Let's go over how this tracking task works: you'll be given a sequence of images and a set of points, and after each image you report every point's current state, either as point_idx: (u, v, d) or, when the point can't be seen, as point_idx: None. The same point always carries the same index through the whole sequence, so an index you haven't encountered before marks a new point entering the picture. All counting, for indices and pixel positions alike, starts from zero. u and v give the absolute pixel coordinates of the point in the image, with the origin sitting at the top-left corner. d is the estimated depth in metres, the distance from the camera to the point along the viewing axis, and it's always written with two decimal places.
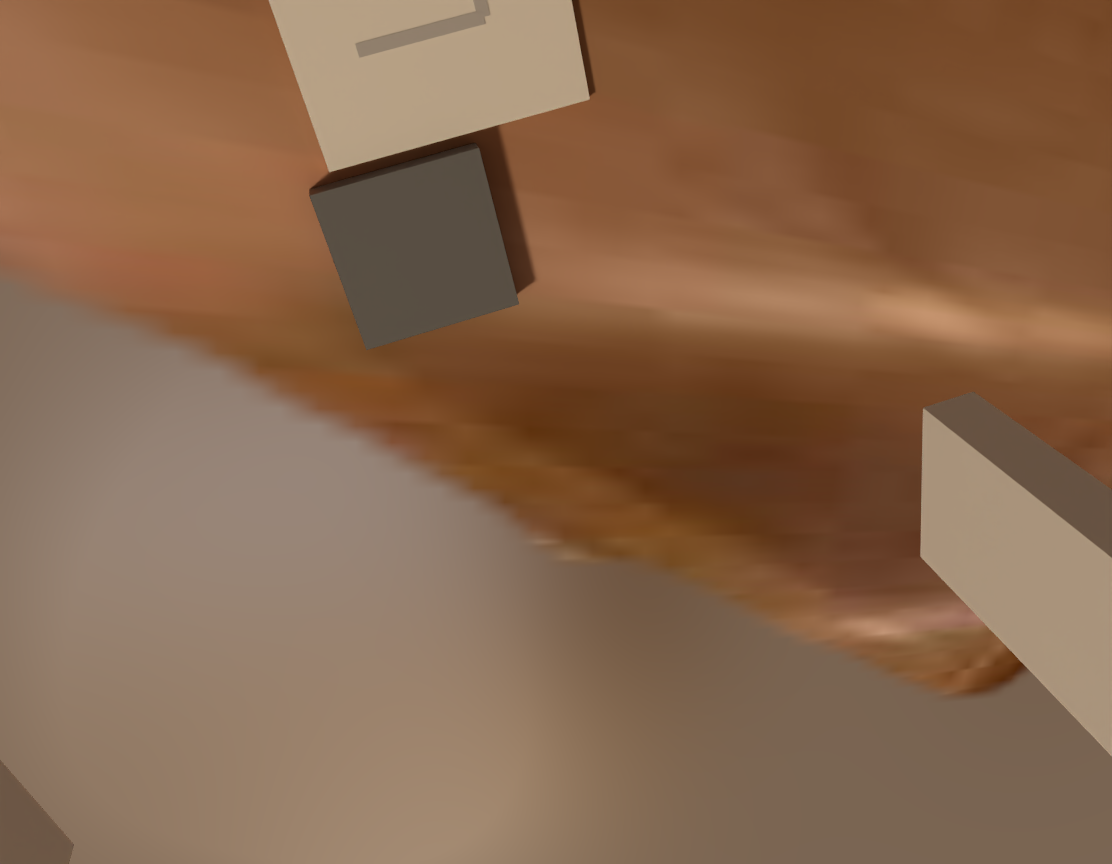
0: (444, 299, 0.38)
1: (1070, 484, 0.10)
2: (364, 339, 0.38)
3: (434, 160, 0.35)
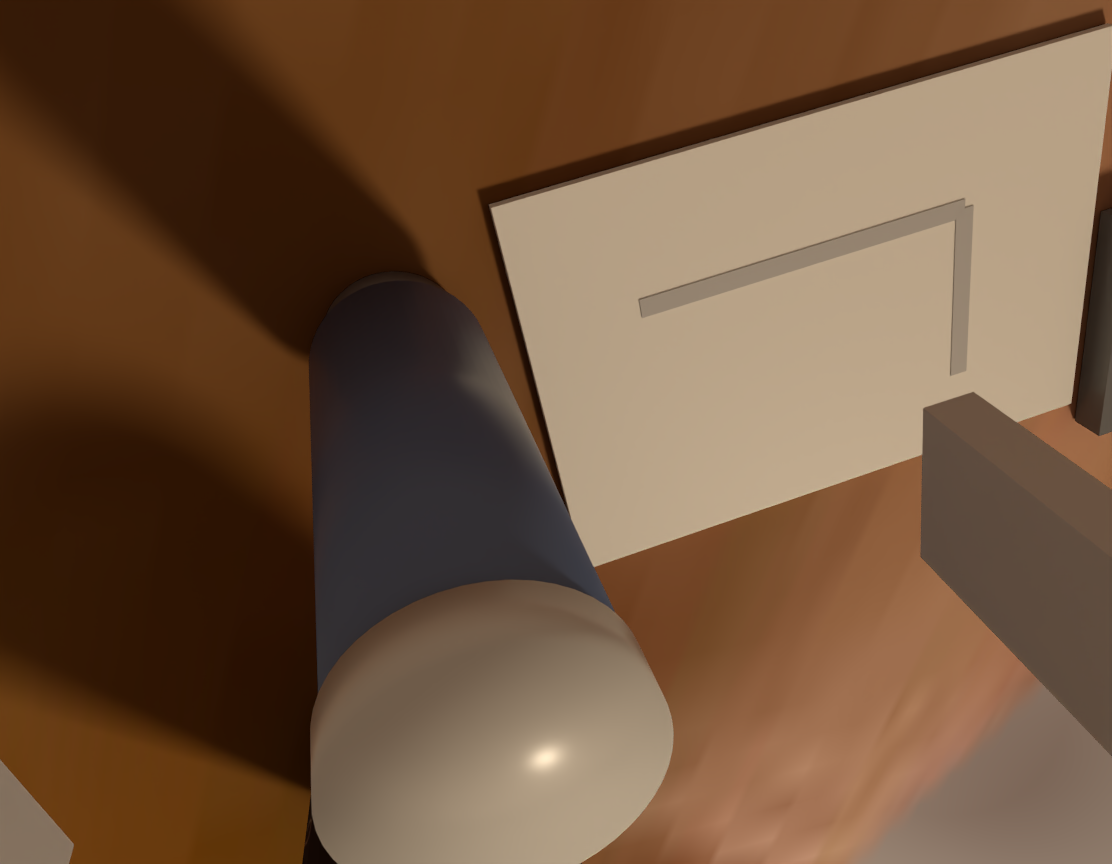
0: None
1: (1069, 484, 0.10)
2: None
3: None
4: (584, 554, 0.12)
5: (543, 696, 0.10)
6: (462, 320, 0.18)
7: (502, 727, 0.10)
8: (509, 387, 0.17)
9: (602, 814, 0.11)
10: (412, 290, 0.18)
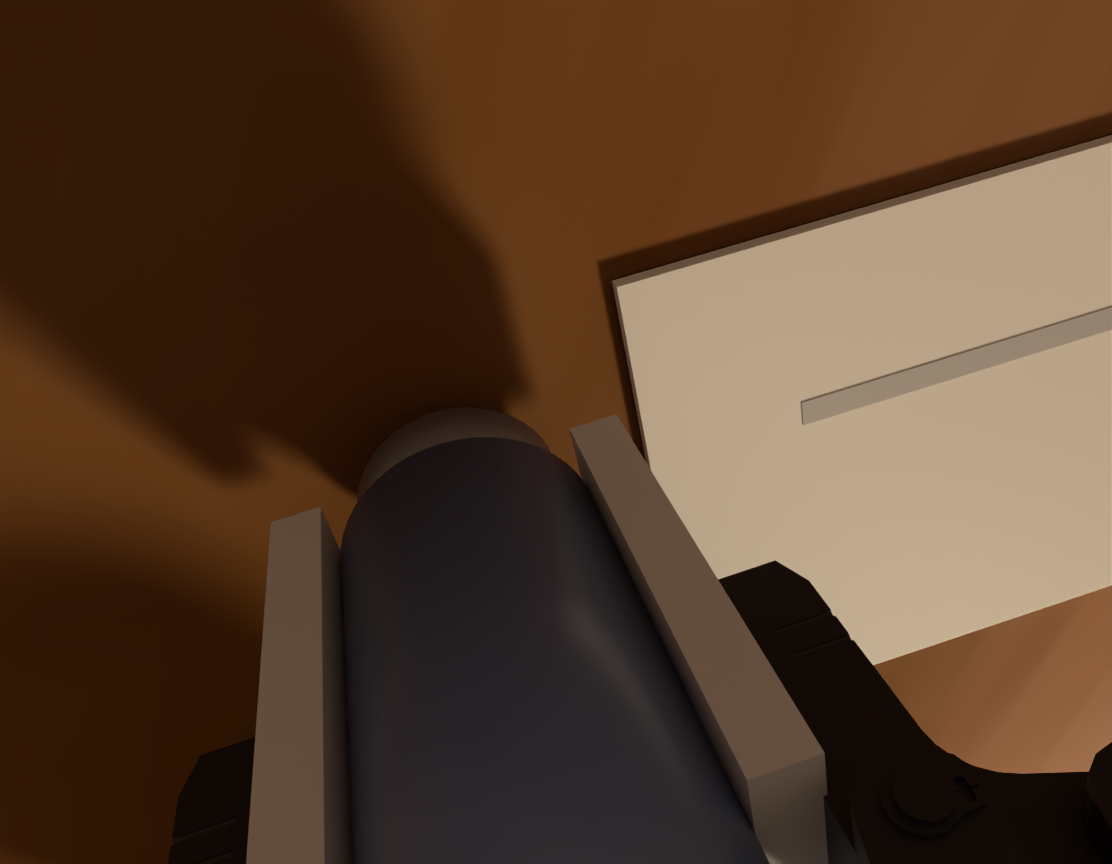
0: None
1: (642, 499, 0.12)
2: None
3: None
4: None
5: None
6: (577, 511, 0.12)
7: None
8: None
9: None
10: (499, 459, 0.12)
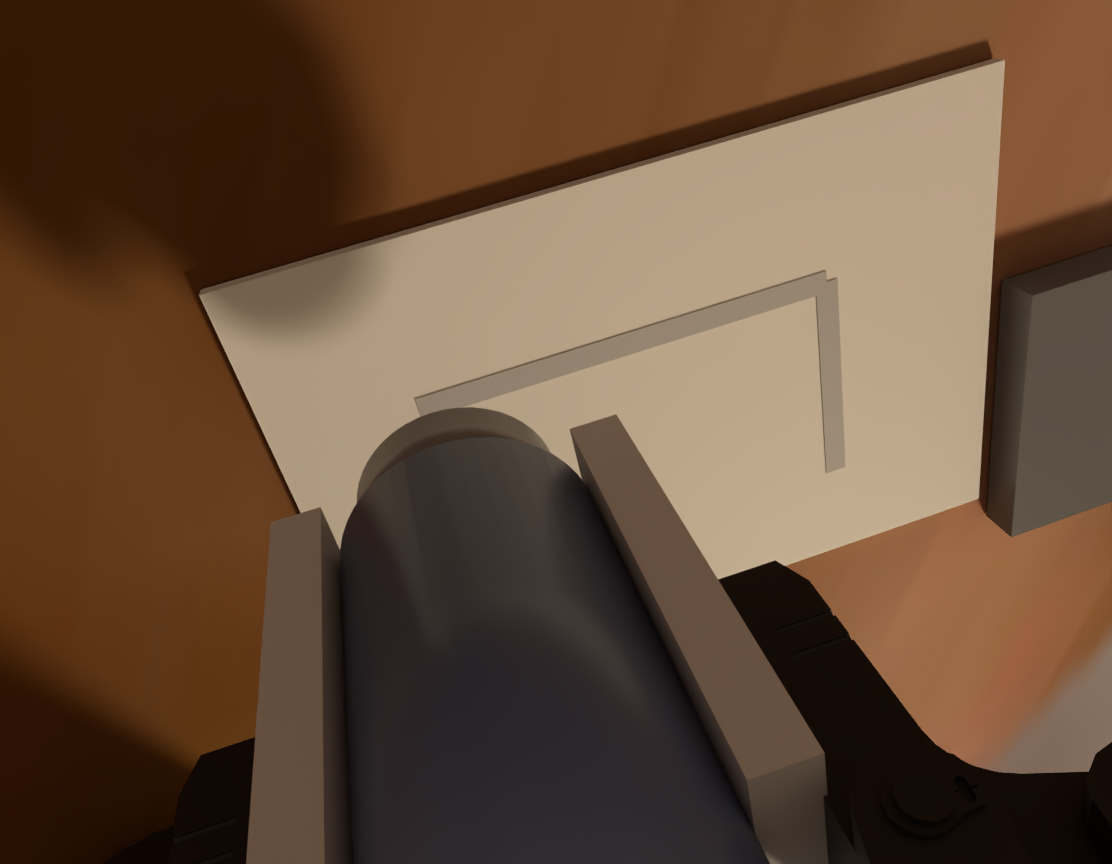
0: None
1: (642, 499, 0.12)
2: None
3: (1025, 367, 0.20)
4: None
5: None
6: (577, 511, 0.12)
7: None
8: None
9: None
10: (499, 459, 0.12)
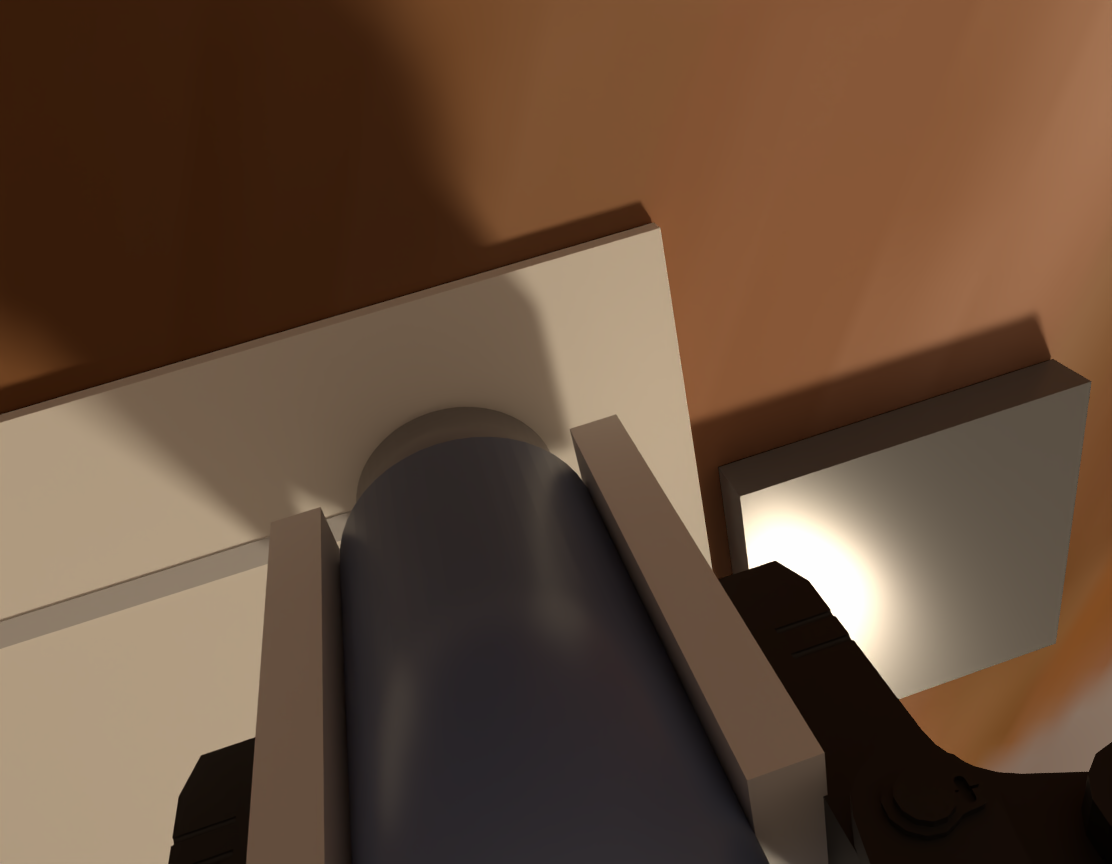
0: (1019, 529, 0.18)
1: (642, 499, 0.12)
2: (1036, 648, 0.20)
3: None
4: None
5: None
6: (577, 511, 0.12)
7: None
8: None
9: None
10: (498, 458, 0.12)
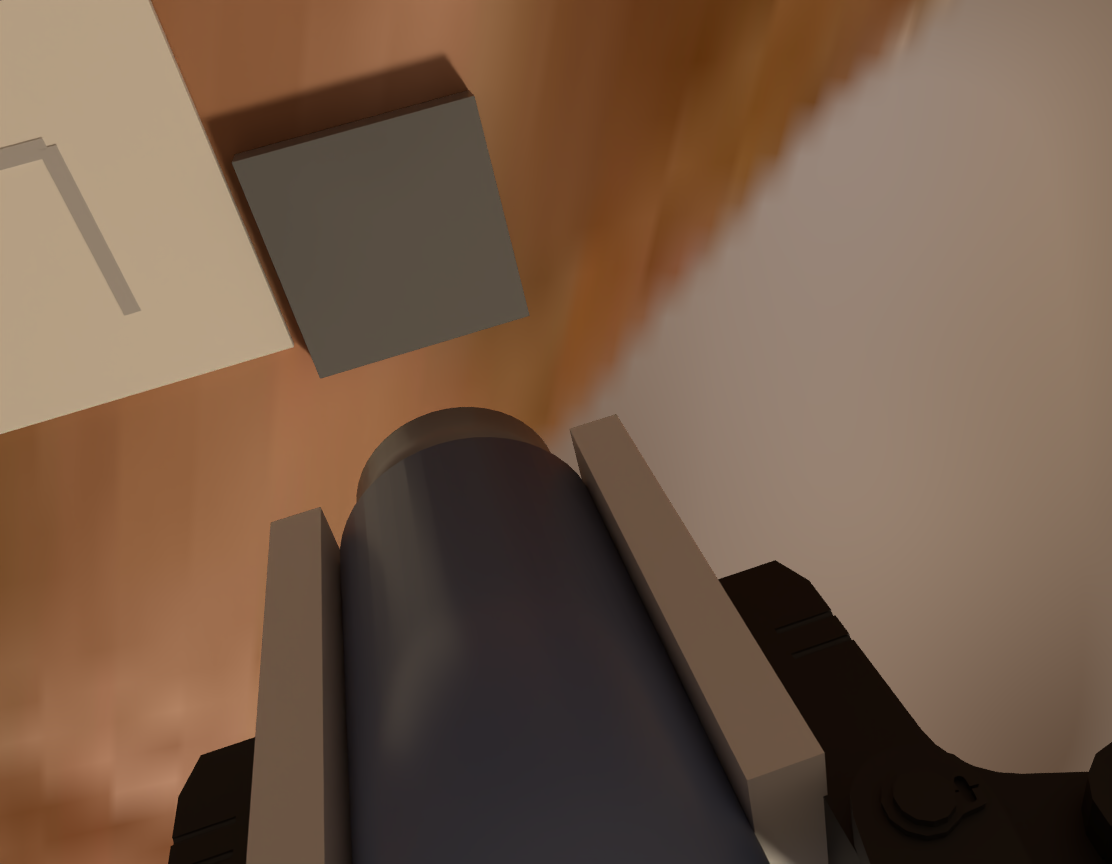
0: (461, 211, 0.26)
1: (642, 499, 0.12)
2: (514, 318, 0.29)
3: (258, 225, 0.25)
4: None
5: None
6: (577, 511, 0.12)
7: None
8: None
9: None
10: (499, 458, 0.12)
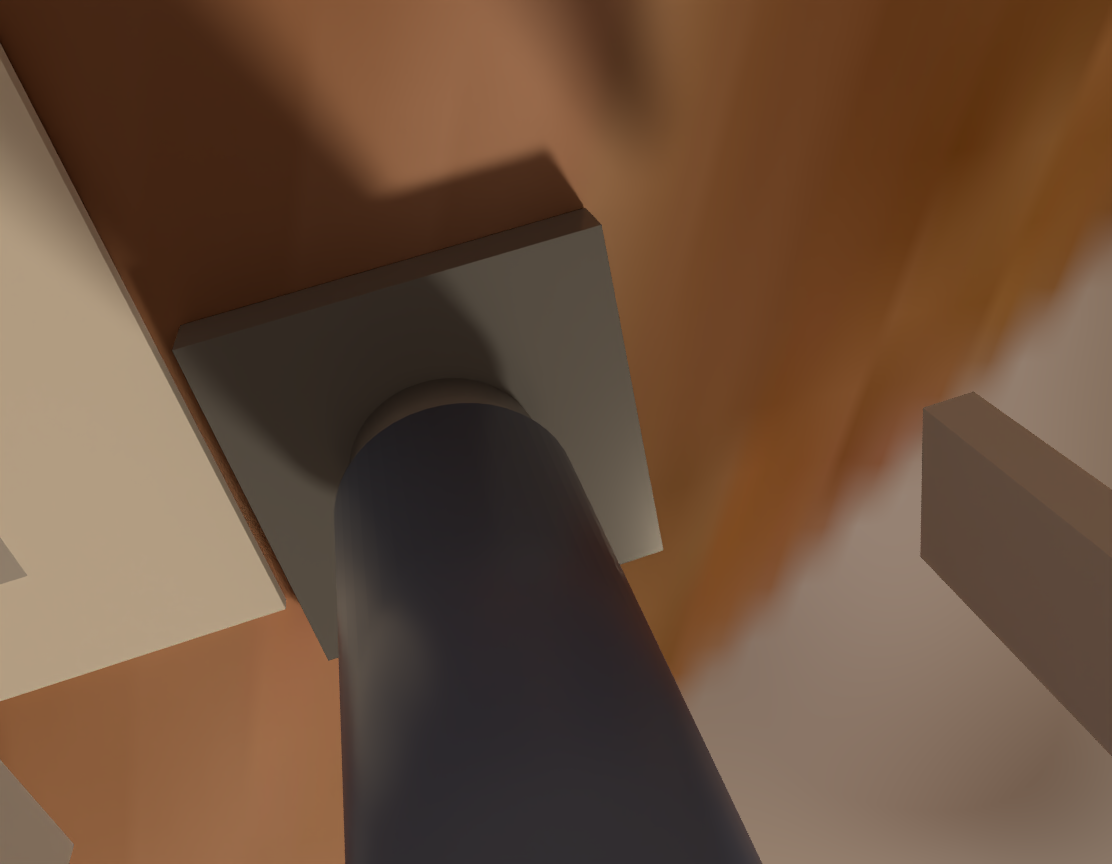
0: (568, 407, 0.16)
1: (1070, 484, 0.10)
2: (639, 555, 0.18)
3: (222, 446, 0.15)
4: None
5: None
6: (554, 469, 0.13)
7: None
8: None
9: None
10: (482, 422, 0.13)
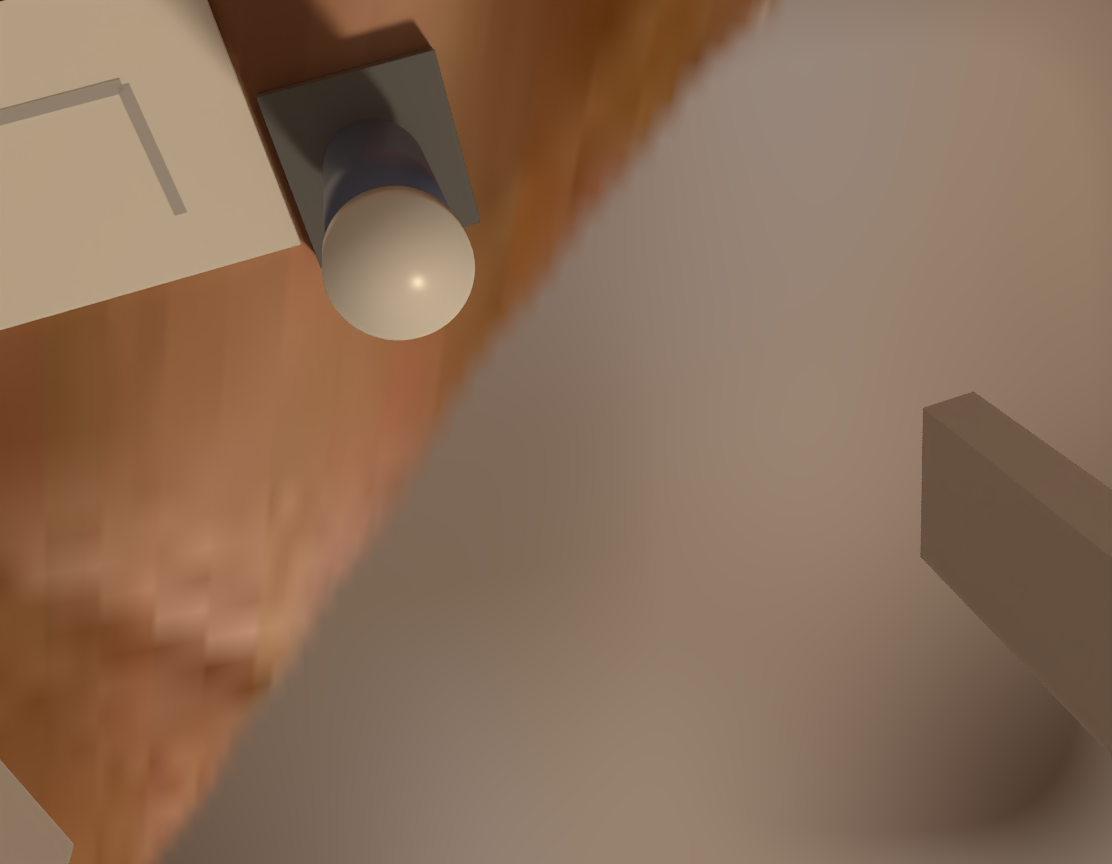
0: (426, 138, 0.35)
1: (1069, 484, 0.10)
2: (468, 223, 0.38)
3: (275, 146, 0.34)
4: (446, 204, 0.26)
5: (415, 227, 0.24)
6: (407, 137, 0.32)
7: (398, 240, 0.24)
8: None
9: (446, 300, 0.25)
10: (381, 122, 0.33)
